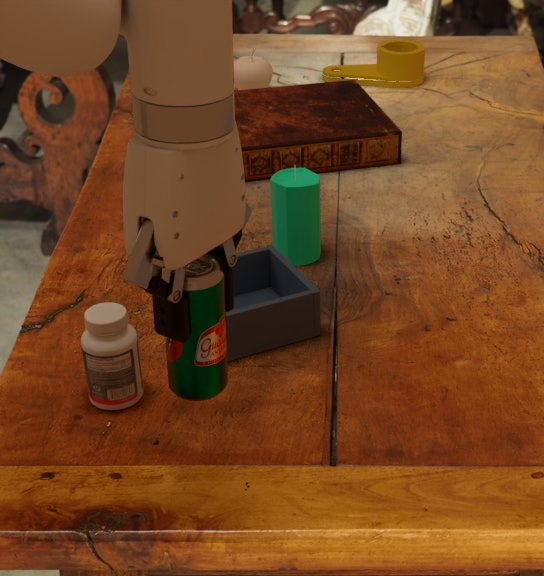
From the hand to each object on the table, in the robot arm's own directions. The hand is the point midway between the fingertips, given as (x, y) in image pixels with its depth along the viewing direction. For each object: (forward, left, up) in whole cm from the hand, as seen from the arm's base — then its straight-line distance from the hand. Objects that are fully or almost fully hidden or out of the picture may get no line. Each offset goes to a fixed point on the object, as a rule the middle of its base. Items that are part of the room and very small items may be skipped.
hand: (195, 319), depth 89 cm
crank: (+67, +87, -17) cm, 111 cm away
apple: (+45, +90, -17) cm, 102 cm away
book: (+40, +67, -17) cm, 79 cm away
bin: (+14, +22, -16) cm, 30 cm away
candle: (+26, +34, -17) cm, 45 cm away
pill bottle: (-3, +15, -17) cm, 23 cm away
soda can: (0, 0, -7) cm, 7 cm away
